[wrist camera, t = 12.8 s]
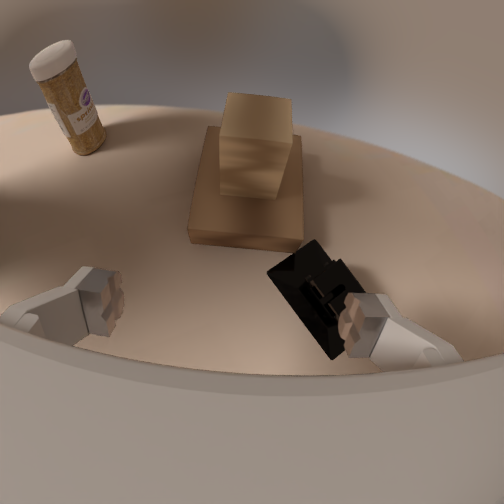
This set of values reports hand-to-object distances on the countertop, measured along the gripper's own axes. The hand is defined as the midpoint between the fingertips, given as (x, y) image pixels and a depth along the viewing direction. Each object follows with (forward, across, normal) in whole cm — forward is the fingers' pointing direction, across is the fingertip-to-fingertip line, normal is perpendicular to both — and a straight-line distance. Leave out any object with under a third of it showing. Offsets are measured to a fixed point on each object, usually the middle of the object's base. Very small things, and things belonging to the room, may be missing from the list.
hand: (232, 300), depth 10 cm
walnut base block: (+18, -1, +1) cm, 18 cm away
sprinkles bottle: (+23, +18, -3) cm, 30 cm away
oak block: (+16, -1, -2) cm, 16 cm away
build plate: (+12, -8, +8) cm, 16 cm away
